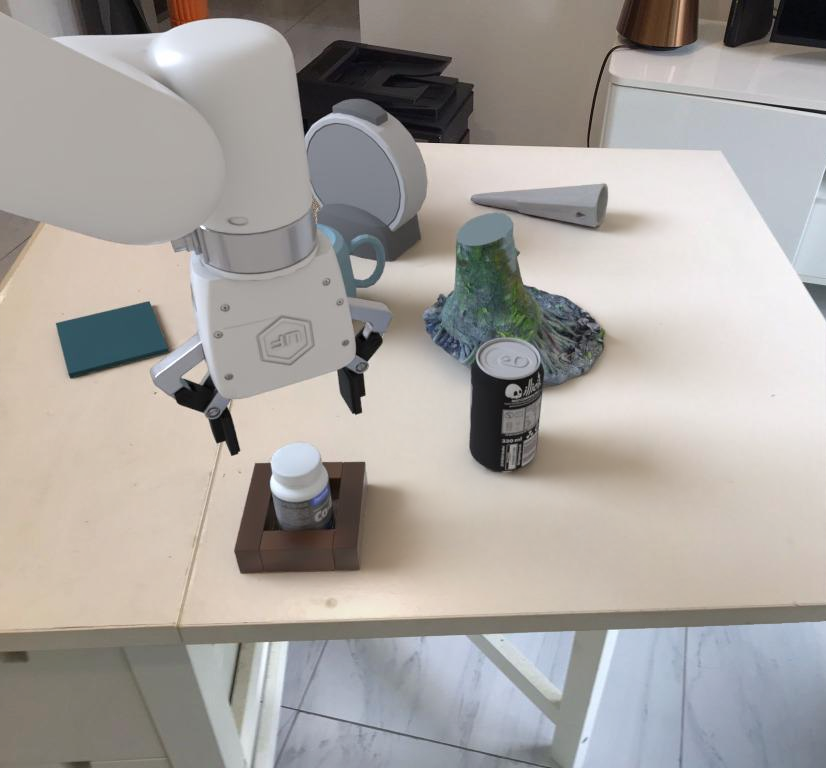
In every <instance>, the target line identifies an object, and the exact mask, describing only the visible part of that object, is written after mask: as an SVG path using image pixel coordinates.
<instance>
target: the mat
mask: <svg viewBox="0 0 826 768" xmlns="http://www.w3.org/2000/svg"><path fill="white" fill-rule="evenodd" d="M154 311H155V310H154V308H153V306H152V304H151V302H150V301H149V300H148V301H144V302H139V303H135V304H131V305H126V306H122V307H118V308H113V309H109V310H105V311H101V312H97V313H93V314H89V315H84V316H79V317H75V318H71V319H67V320H62V321H58V322H55V326H56V330H57V334H58V338H59V342H60V346H61V347H60V348H61V350H62V355H63V358H64V362H65V366H66V370H67V374H68V377H69V379H72V378H76V377H80V376H83V375H87V374H91V373H96V372H100V371H103V370H106V369H110V368H111V369H112V368H114V367H118V366H122V365H125V364H131V363H134V362H137V361H140V360H145V359H149V358H152V357H156V356H160V355H164V354H167V353H168V354H169V353H170V349H169V346H168V343H167V341H166V339H165V335H164V334H163V333H164V332H162V331H163V330H162V328H161V326H160V324H159V321H158V319H157V316H156V314H155V312H154Z"/></svg>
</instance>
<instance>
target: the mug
mask: <svg viewBox="0 0 826 768" xmlns="http://www.w3.org/2000/svg"><path fill="white" fill-rule="evenodd" d="M316 228H318V229H319V230H320V231H322V232H323V234H324V235H325V236H327V237H328V238H329V240H330V242H331V244H332V246H333V249H334V252H335V254H336V257H337V261H338V264H339V267H340V270H341V274H342V278H343V282H344V286H345V290H346V295H347V297H352V298H357V289H368V288H370V287H372V286H374V285H375V284H377V283H378V282H379V280H381V277H382V276H383V273H384V270H385V267H386V261H385V250H384V247H383V245H382V243H381V241H380V240H379V239H378V238H376V237H374V236H371V235H367V234H365V235H359V236H358V237H356V238H354V239H353V240H352V241H351V242H350V243H349V244H348V245H346V242H345V240H344V239H343V237H342V235H341V234H340V233H339V232H338V231H337V230H335V229H333V228H331V227H329V226H326V225H323V224H317V222H316ZM364 243H369V244H371V245H372V246H373V247H374V248H375V251H376V255H377V260H376V264H375V269H374V270H373V272H372V274H371V275H370V276H369V277H367V278H365V279H358V278H355V275H354V271H353V265H352V262H351V256H352V255H351V254H352V253H353V252H354V251H355V250H356V249H357V248H358V247H359V246H360V245H362V244H364Z"/></svg>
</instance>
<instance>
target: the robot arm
mask: <svg viewBox="0 0 826 768" xmlns="http://www.w3.org/2000/svg"><path fill="white" fill-rule="evenodd" d="M296 70H297V69H296V65H295V59H294V53H293V50H292V49H291V46H290V44H289V43H288V41H287V39H286V38H285V37H284V36H283V34H282V33H281V32H279V31H278V30H276V29H275V28H273V27H272V26H270V25H268V24H265V23H264V22H263V23H262V22H260V21H259V22H258V21H255V20H250V19H243V18H235V17H233V18H232V17H230V18H229V17H224V18H223V17H221V18H219V17H218V18H207V19H205V18H204V19H199V20H194V21H191V22H190V21H189V22H186V23H183V24H181V25H178V26H175V27H173V28H171V29H169V30H167V31H164V32H155V33H154V32H153V33H139V34H137V33H136V34H135V33H134V34H112V35H111V34H98V35H97V34H95V35H94V34H90V35H88V34H86V35H81V34H80V35H67V36H66V35H64V36H55V37H49V36H47V35H45V34H43V33H42V32H40V31H38V30H35V28H32V27H30V26H28V25H26V24H24V23H23V22H20V21H18V20H16V19H15V18H13V17H11V16H9V15H8V14H6V13H4V12H2V11H0V211H2V212H5V213H8V214H11V215H15V216H18V217H22V218H25V219H29V220H30V221H31V220H32V221H36V222H39V223H44V224H46V225H49V226H53V227H56V228H59V229H62V230H66V231H71V232H73V233H77V234H80V235H83V236H87V237H91V238H94V239H97V240H102V241H106V242H111V243H114V244H115V243H116V244H121V245H128V246H129V245H132V246H152V245H162V244H165V243H169V242H170V244H171V247H172V249H173V251H174V253H179V252H184V251H187V252H188V253H189V252H191V254H190V257H189V281H190V294H191V302H192V303H191V304H192V307H193V308H192V309H193V316H194V320H195V328H196V333H195V334H194V335H193V336H191V337H189V338H188V339H187V340H186V341H184V342H183V343H182V344H180V345H179V346H178V347H176V348H175V349H174V350H172V351H171V352H169V353H168V354H167V355H166V356H164V357H163V358H162V359H161V360H159V361H158V362H156V363H155V364H153V366H151V367H150V368H149V375H150V378H151V381H152V383H153V385H154V386H155V387H157V388H158V389H159V390H161V391H162V392H163V393H165V394H166V395H167V396H168V397H171V398H172V399H173V400H175V402H176V404H177V405H179V406H182V407H185V408H188V409H191V410H193V411H196V412H199V413H202V414H204V416H205V418H206V419H208V424H209V427H210V430H211V434H212V436H213V439H214V440H215V443H216V445H218V444H222V443H224V442H225V444H226V446H227V450H228V451H229V453H230V456H231V457H233V456H234V457H235V456H236V455H239V452H241V447H240V444H239V443H240V442H239V440H238V439H239V438H238V436H237V431H236V427H235V423H234V420H233V417H232V414H231V411H230V409H229V407H228V405H229V404H230V402H231V401H232V400H242V399H247V398H251V397H255V396H259V395H263V394H265V393H268V392H272V391H275V390H278V389H281V388H285V387H288V386H291V385H295V384H297V383H302V382H304V381H308V380H311V379H314V378H318V377H320V376H324V375H327V374H330V373H333V372H337V380H338V389H339V394H340V397H341V398H342V400H343V401H344V402H345V404H346V406H347V408H348V409H349V411H350V412H351V414H352V415H355V416H357V415H360V414H362V413H363V407H362V398H363V397H366V395H367V393H366V383H365V375H364V374H365V372H367V371H368V369H369V366H370V365H369V364H370V363H369V361H370V360H371V358H372V357H373V356H374V355H375V354H376V352H377V351H378V350H379V349H380V347H381V346H382V345H383V342H384V339H383V336H384V335H385V334H386V333H387V330H388V328H389V325H390V323H391V321H392V319H393V312H392V311H391V310H390V309H389V307H388V305H386V303H384V302H379V301H374V300H368V299H362V298H357V297H356V298H352V297H347V295H346V290H345V286H344V282H343V278H342V274H341V270H340V267H339V264H338V261H337V257H336V254H335V252H334V249H333V246H332V244H331V242H330V240H329V238H328V237H327V236H325V235H324V234H323V232H322V231H320V230H319V229H318V228H316V223H317V219H316V214H315V213H316V212H315V205H314V199H313V198H314V197H313V195H312V190H311V183H310V175H309V167H308V160H307V152H306V145H305V131H304V123H303V116H302V107H301V102H300V101H301V100H300V92H299V85H298V78H297V77H298V76H297V71H296ZM353 321H356V322H357V321H358V322H365V325H363V326H362V327H361V329H359V331H358V332H357V333H356V335H355V330H354V325H353ZM203 361H204V362H205V363H206V367H207V371H206V373H205V374H204V375H203V377H202V379H201V380H200V382H198V383H197V382H195V381H192V380H189V379H187V378H183V376H184V375H185V374H187V373H188V372H190V371H191V370H192V369H193V368H195V367H196V366H198V365H199V364H200V363H201V362H203Z"/></svg>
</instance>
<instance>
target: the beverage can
mask: <svg viewBox="0 0 826 768" xmlns="http://www.w3.org/2000/svg"><path fill="white" fill-rule="evenodd" d="M543 381H544V368H543V365H542V363H541V357H540V354H539V351H538V350H537V349H536V348H535V347H534V346H533V345H532V344H530V343H528V342H526V341H524V340H521V339H517V338H497V339H493V340H490V341H488V342H486V343H484V344H483V345H482V346H481V347H480V348H479V349H478V351H477V355H476V359H475V360H474V362H473V364H472V367H471V368H470V400H469V401H470V405H469V407H470V408H469V444H468V446H469V453H470V455H471V456H472V458H473V459H474V460H475V461H476V462H477V463H478V464H479V465H480V466H482V467H484V468H485V469H487V470H490V471H492V472H496V473H511V472H515V471H518V470H521V469H522V468H524V467H526V466H528V465H529V464H530V463H531V462H532V461H533V459H534V458H535V456H536V454H537V449H538V440H539V428H540V421H541V420H540V419H541V410H542V401H543V390H544V386H543Z"/></svg>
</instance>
